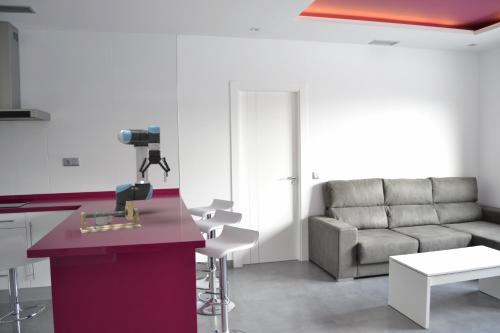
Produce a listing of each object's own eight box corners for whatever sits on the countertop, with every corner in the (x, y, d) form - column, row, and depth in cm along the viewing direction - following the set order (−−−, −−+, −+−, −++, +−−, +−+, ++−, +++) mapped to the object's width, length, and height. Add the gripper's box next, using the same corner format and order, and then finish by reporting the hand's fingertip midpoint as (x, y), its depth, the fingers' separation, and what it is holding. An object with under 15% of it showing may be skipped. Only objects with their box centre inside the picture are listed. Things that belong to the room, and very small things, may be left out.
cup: (96, 223, 254) (96, 210, 253) (112, 222, 257) (112, 209, 256) (95, 225, 247) (95, 211, 246) (112, 224, 250) (112, 211, 249)
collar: (128, 220, 237) (127, 202, 236) (125, 218, 244) (125, 200, 243) (133, 219, 238) (132, 201, 238) (130, 217, 245) (129, 200, 245)
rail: (82, 233, 222) (81, 214, 222) (80, 230, 233) (79, 211, 232) (141, 227, 239) (141, 209, 238) (136, 224, 249) (136, 207, 249)
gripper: (136, 149, 239) (137, 183, 240) (174, 149, 252) (175, 181, 253) (133, 150, 246) (134, 183, 246) (171, 150, 259) (171, 181, 259)
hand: (155, 182), depth 250 cm, fingers open, 13 cm apart
